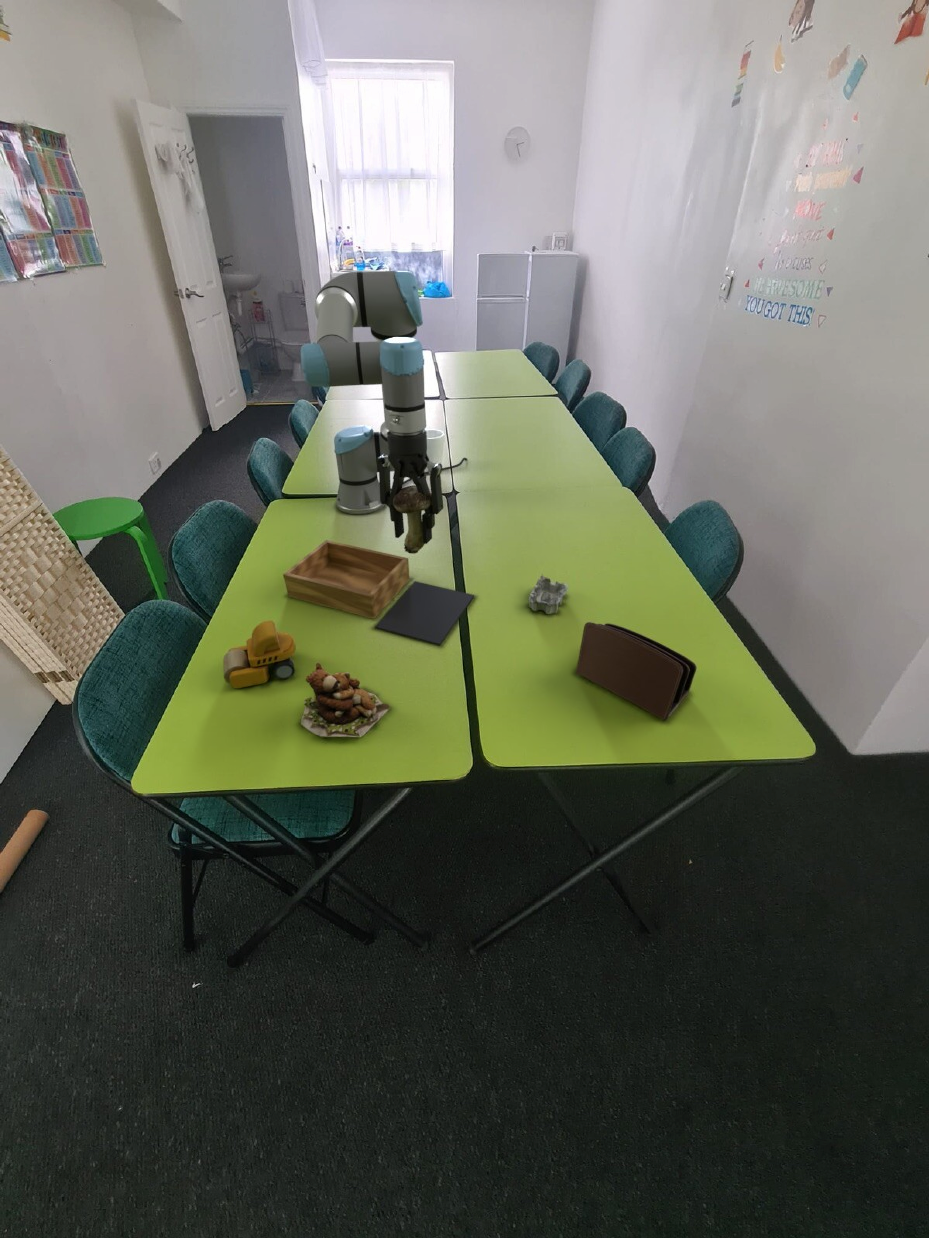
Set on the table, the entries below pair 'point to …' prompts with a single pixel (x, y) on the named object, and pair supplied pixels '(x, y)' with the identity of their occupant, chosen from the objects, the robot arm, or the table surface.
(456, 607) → the mat
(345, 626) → the table surface
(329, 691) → the bear figurine
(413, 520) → the mushroom
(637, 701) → the letter holder
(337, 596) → the crate
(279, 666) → the toy roller
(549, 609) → the egg carton
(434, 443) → the foam cup
